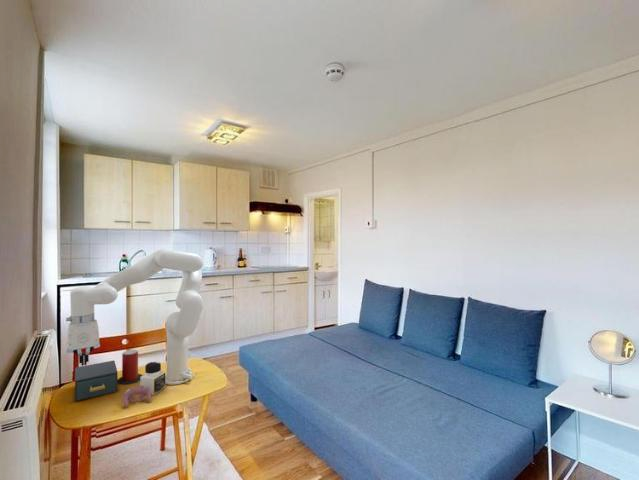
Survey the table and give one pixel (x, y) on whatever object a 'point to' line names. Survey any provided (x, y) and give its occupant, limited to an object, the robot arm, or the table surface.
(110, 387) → the drawer
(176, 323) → the robot arm
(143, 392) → the video game controller
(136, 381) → the coaster
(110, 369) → the cabinet
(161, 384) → the medicine bottle
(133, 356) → the can
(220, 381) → the table surface
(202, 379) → the table surface
